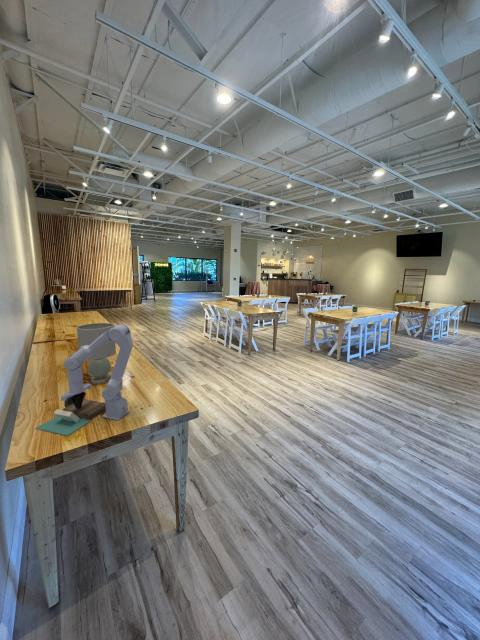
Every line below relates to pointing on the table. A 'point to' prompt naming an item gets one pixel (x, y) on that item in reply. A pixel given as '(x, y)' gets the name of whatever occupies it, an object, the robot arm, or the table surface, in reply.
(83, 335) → the lamp
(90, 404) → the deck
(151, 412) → the table surface
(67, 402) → the phone
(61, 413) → the white rectangular block
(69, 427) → the mat
